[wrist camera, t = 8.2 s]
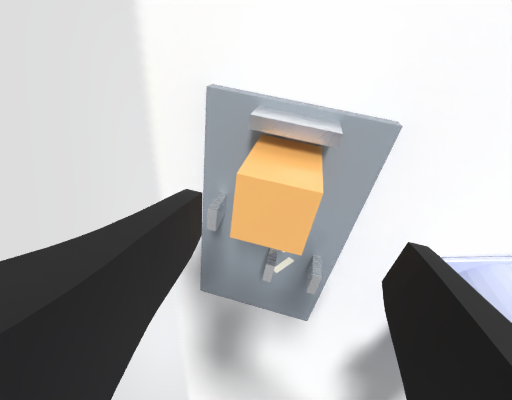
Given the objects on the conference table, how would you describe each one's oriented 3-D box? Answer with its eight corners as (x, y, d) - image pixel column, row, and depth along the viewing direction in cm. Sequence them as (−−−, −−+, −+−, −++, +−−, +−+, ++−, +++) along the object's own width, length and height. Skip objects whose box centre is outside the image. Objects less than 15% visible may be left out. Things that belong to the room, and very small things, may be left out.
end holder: (308, 213, 19) (307, 234, 17) (245, 198, 19) (236, 216, 17) (339, 121, 15) (342, 134, 13) (259, 105, 15) (250, 114, 13)
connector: (305, 197, 18) (301, 255, 13) (253, 185, 18) (229, 237, 13) (321, 146, 16) (323, 193, 11) (261, 134, 16) (236, 173, 11)
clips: (314, 271, 22) (314, 294, 20) (215, 245, 23) (205, 264, 21) (337, 220, 18) (339, 241, 16) (219, 191, 19) (207, 207, 17)
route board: (307, 312, 27) (307, 321, 26) (203, 283, 28) (200, 290, 27) (397, 121, 15) (402, 126, 14) (212, 84, 16) (206, 86, 15)
